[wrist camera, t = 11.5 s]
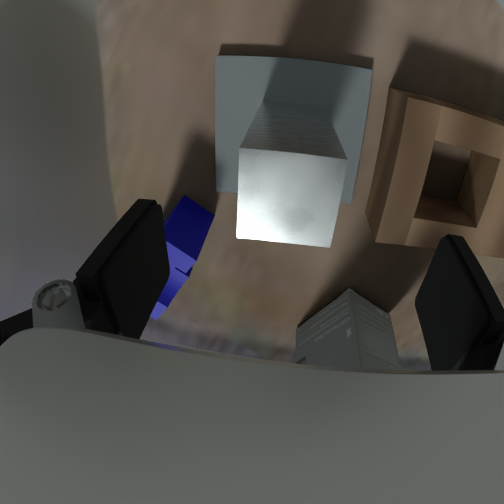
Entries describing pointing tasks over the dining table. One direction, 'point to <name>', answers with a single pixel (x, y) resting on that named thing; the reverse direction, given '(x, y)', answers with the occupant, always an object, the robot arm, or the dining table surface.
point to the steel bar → (290, 175)
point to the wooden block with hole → (415, 168)
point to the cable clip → (182, 246)
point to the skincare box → (348, 336)
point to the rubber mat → (289, 91)
